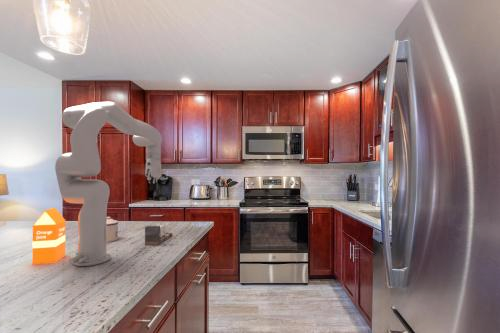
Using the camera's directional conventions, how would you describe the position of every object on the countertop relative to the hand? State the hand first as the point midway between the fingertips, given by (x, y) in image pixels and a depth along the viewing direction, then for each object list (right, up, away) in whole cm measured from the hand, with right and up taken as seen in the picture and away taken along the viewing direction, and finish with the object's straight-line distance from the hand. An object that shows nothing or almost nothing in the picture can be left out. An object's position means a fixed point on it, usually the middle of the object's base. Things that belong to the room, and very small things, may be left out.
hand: (152, 190), depth 141 cm
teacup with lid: (-20, -24, -9) cm, 33 cm away
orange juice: (-27, -24, -38) cm, 52 cm away
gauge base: (+7, -24, -10) cm, 27 cm away
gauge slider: (+7, -22, -12) cm, 26 cm away
